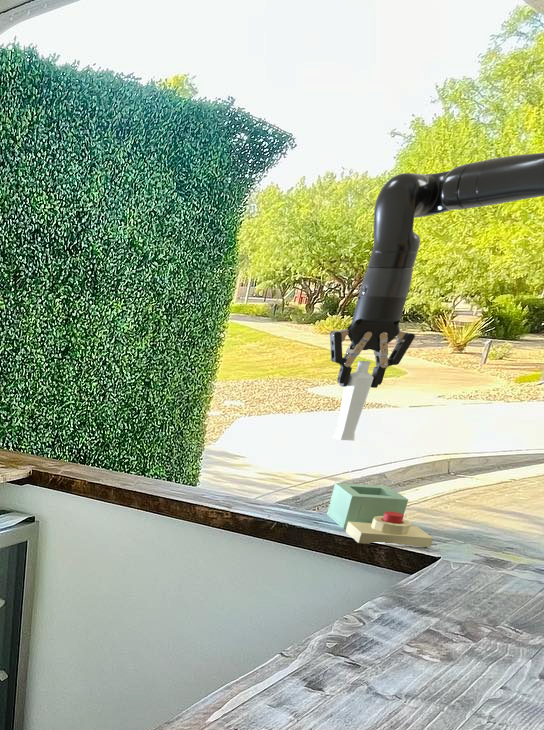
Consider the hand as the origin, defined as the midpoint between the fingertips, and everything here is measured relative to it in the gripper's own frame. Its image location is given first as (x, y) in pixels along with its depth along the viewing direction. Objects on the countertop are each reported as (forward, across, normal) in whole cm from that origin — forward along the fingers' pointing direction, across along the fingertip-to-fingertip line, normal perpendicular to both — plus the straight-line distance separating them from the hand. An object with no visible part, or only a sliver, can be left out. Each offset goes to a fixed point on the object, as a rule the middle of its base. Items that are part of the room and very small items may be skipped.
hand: (357, 386), depth 149 cm
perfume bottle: (+11, 0, 0) cm, 11 cm away
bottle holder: (+28, -7, +1) cm, 28 cm away
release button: (+24, -8, +11) cm, 27 cm away
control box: (+28, -8, +11) cm, 31 cm away
